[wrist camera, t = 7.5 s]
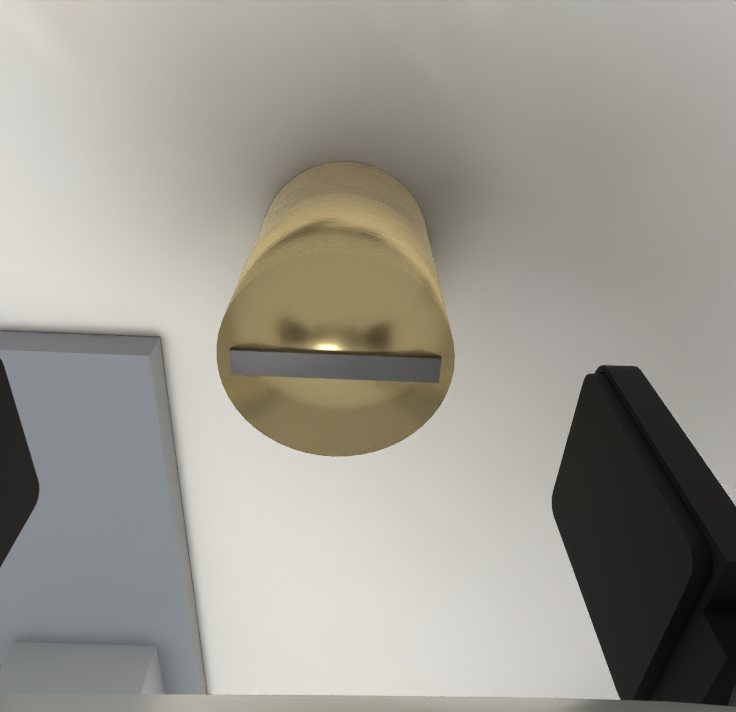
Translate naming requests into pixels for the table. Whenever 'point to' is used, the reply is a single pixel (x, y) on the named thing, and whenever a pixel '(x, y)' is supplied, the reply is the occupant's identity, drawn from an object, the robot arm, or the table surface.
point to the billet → (338, 317)
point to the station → (97, 525)
